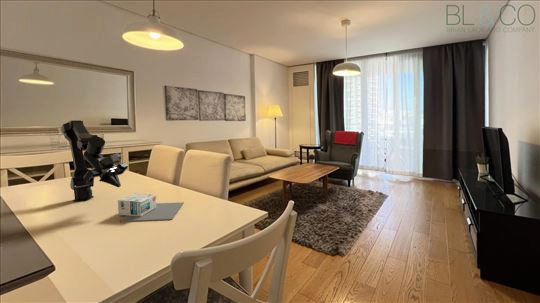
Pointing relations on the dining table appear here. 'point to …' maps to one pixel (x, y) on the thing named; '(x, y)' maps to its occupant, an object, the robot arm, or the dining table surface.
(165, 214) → the charcoal mat
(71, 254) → the dining table surface
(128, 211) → the light bulb box
